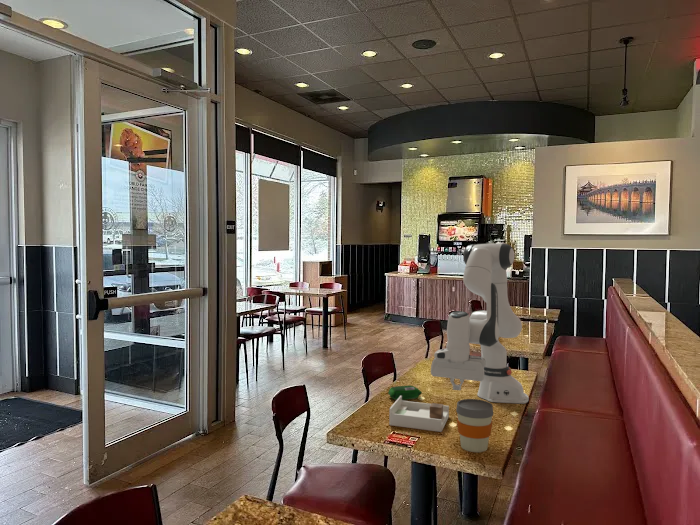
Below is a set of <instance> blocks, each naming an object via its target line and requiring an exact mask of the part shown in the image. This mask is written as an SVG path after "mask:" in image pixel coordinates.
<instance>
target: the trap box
mask: <svg viewBox="0 0 700 525" xmlns="http://www.w3.org/2000/svg"><path fill="white" fill-rule="evenodd" d="M431 404H432V403H426V402H418V401H410V400H409V401H408V400H402V396H400V397H399V398H398V399H397V400H395V402H394V403H393V404H391V406H390V407H389V411H388V412H389V415H388V416H389V418H388V421H389V423H388V424H389V426H393V427H394V426H395V427H400V428H401V427H402V428H411V429H417V430H424V431H432V432H438V433H439V432H440V433H442V432H443V429H444V428H445V425H446V423H447V421H448V420H449V417H450V416H449V415H450V406H449V405H444V404H443V417H442V419H435V418H430V405H431Z"/></svg>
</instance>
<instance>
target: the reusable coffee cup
mask: <svg viewBox="0 0 700 525" xmlns="http://www.w3.org/2000/svg"><path fill="white" fill-rule="evenodd" d="M455 410H456V413H457V418H456V424H457V432H458V434H459V439H460V440H459V442H460V447H461V448H462V449H463V450H465V451H467V452H470V453H483V452H486V451H487V450H488V446H489V440H490V436H491V434H492V429H493V428H492V427H493V420H492V419H493V416H494V405H493V404H492V403H491V402H490V401H488V400H483V399H477V398H463V399H460V400H458V401H457V402H456V409H455Z"/></svg>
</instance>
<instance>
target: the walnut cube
mask: <svg viewBox="0 0 700 525" xmlns="http://www.w3.org/2000/svg"><path fill="white" fill-rule="evenodd" d="M430 404H431V405H430V418H435V419H442V417H443V405H444V404H443V403H436V402H435V403H434V402H432V403H430Z"/></svg>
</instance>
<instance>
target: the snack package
mask: <svg viewBox="0 0 700 525" xmlns="http://www.w3.org/2000/svg"><path fill="white" fill-rule="evenodd" d="M387 393H388V396H389V397H390V398H391V399H393V400H395V401H396V400H397V399H398V398H399V397H400V396H402V401H407V400H414V399H418V398H419V396H421V395H422V394H423V393H422V391H421V389H419V388H417V387H416V386H415V385H397V386H391V387H390V388H389V390H388V392H387Z"/></svg>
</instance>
